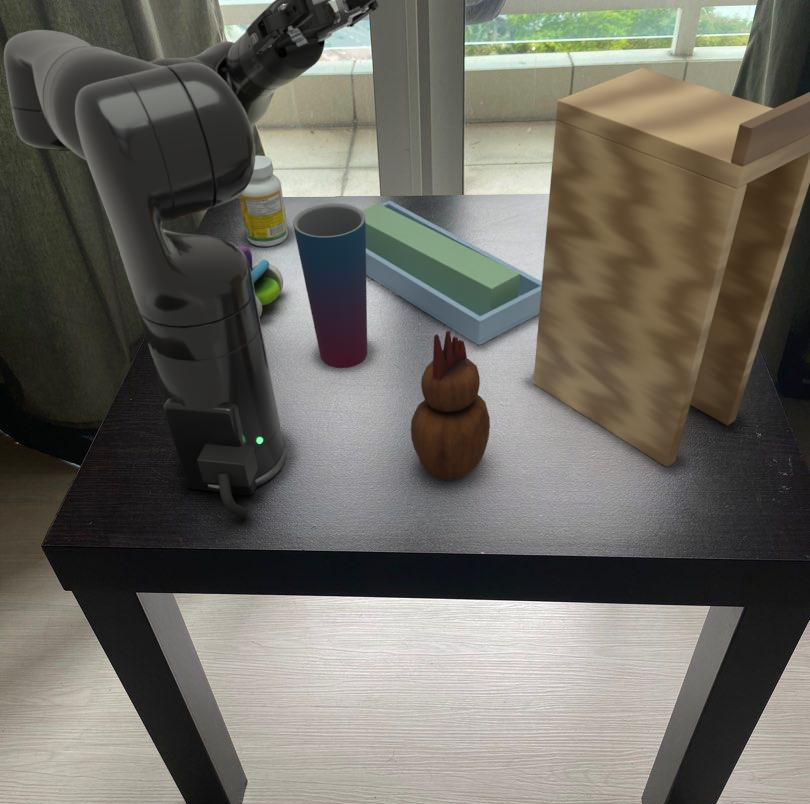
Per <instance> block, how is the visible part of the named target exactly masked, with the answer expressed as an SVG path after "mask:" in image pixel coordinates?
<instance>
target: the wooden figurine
mask: <svg viewBox="0 0 810 804" xmlns="http://www.w3.org/2000/svg"><path fill="white" fill-rule="evenodd" d="M432 353H433V358H432V361H430V363H429V364H427V365H426V367H425V369H424V371H423V374H422V376H421V383H420V388H421V393H422V396H423V398H424V400H423V401H421V402H420V403H419V404H418V405H417V406H416V409H415V411H414V413H413V416H412V418H411V419H410V420H411V422H410V438H411V443H412V446H413V449H414V451H415V453H416V456H417V458H418V461H419V463H420V465H421V467H422V468H423V469H424V470H425V472H427V474H428V475H429V476H431V477H434V478H436V479H438V480H443V481H451V480H457V479H458V480H459V479H461V478H464V477H465V476H467V475H469V474H471V473H472V472H473V471H474V470H475V469H476V468H477V467H478V465H479V464H480V463H481V461H482V460H483V457H484V455H485V453H486V449H487V447H488V446H487V445H488V443H489V442H488V441H489V439H490V428H491V419H490V418H491V417H490V414H489V410H488V407H487V402H486V401H485V400H484V399H483V398H482V397H481V396H480V394H479V391H480V386H481V379H480V378H481V377H480V372H479V369H478V366H477V364H475V363H474V362H473V361H472V360H471V359H469V358H468V355H467V350H466V345H465V341H464V340H461V339H459V338H458V337H457V336H453V337H452V335H451V331H450V330H446V331H445V336H444V343H443V347H442V343H441V340H440V336H439V334H434V335H433V352H432Z"/></svg>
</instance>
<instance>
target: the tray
mask: <svg viewBox="0 0 810 804" xmlns="http://www.w3.org/2000/svg"><path fill="white" fill-rule="evenodd" d="M379 204H380V205H382V206H384V207H386V208H388V209H391V210H393V211H395V212H397V213H399V214H401V215H403V216H405V217H407V218H409V219H411V220H413V221H415V222H417V223H419V224H421V225H423V226H425V227H427V228H429V229H431V230H433V231H435V232H437V233H439V234H441V235H443V236H445V237H447V238H449V239H451V240H453V241H455V242H457V243H459V244H461V245H463V246H465V247H467V248H469V249H471V250H473V251H475V252H477V253H479V254H481V255H483V256H485V257H487V258H489V259H491V260H493V261H495V262H497V263H499V264H501V265H503V266H505V267H507V268H509V269H511V270H513V271H515V272H517V273H519V274H520V279H519V295H518V298H516V299H514V300H512V301H510V302H508V303H506V304H504V305H502V306H500V307H498V308H496V309H494V310H492V311H490V312H488V313H486V314H484V315H482V316H480V315H478V314H476V313H475V312H473V311H471V310H469V309H467V308H466V307H464V306H462V305H460V304H458V303H457V302H455V301H453V300H452V299H450V298H448V297H447V296H445V295H443V294H442V293H440V292H438V291H437V290H435V289H433V288H432V287H430V286H428V285H427V284H425V283H423V282H422V281H420V280H418V279H417V278H415V277H413V276H412V275H410V274H408V273H407V272H405V271H403V270H401V269H400V268H398V267H396V266H395V265H393V264H391V263H390V262H388V261H386V260H385V259H383V258H381V257H380V256H378V255H376V254H375V253H373V252H371V251H370V250H368V249H366V277H369V278H370V279H371V280H373V281H375V282H376V283H378V284H380V285H381V286H383V287H385V288H386V289H387V290H390V291H391V292H393V293H394V294H396V295H397V296H399V297H401V298H402V299H404V300H405V301H407V302H409V303H410V304H412V305H414V306H415V307H416V308H418V309H420V311H421V310H422V311H423V312H425V314H428V315H430V316H431V317H432V318H434V319H436V320H438V321H439V322H441V323H442V324H443V325H445V326H447V327H449V328H450V329H452V330H453V331H455V332H457V333H458V334H460V335H461V336H463V337H465V338H466V339H468V340H469V341H471V342H473V343H474V344H476V345H477V346H481V345H483V344H485V343H487V342H489V341H491V340H492V339H494V338H496V337H498V336H501V335H502V334H504V333H505V332H508V331H510V330H511V329H514V328H515V327H518V326H520V325H521V324H524V323H525V322H526V321H529V320H530V319H533V318H534V317H536V316H539V310H540V298H541V287H542V280H540V279H538V278H536V277H534V276H532V275H531V274H528V273H527V272H524V271H523V270H521V269H519V268H517V267H516V266H513V265H511V264H510V263H508V262H506V261H504V260H502V259H500V258H499V257H497V256H495V255H493V254H491V253H490V252H488V251H485V250H483V249H482V248H480V247H478V246H476V245H474V244H473V243H471V242H469V241H467V240H465V239H463V238H461V237H459V236H457V235H456V234H453V233H451V232H449V231H448V230H446V229H444V228H442V227H440V226H438V225H437V224H435V223H433V222H431V221H429V220H427V219H425V218H423V217H421V216H419V215H418V214H416V213H414V212H412V211H410V210H408V209H407V208H405V207H402V206H401V205H399V204H397V203H396V202H393V201H391V200H387V201H384V202H381V203H379Z"/></svg>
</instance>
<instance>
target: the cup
mask: <svg viewBox="0 0 810 804" xmlns="http://www.w3.org/2000/svg"><path fill="white" fill-rule="evenodd" d="M361 210H362V209H360V208H358V207H356V206H354V205H350V204H347V203H340V202H339V203H337V202H335V203H334V202H333V203H332V202H331V203H321V204H317V205H312V206H310V207H307V208H305V209H303V210H301V211H300V212H298V213H297V214H296V215H295V217H294V219H293V221H292V227H293V230H294V235H295V240H296V246H297V250H298V255H299V260H300V264H301V270H302V274H303V279H304V284H305V289H306V293H307V298H308V303H309V308H310V313H311V318H312V321H313V328H314V331H315V337H316V341H317V346H318V351H319V357H320V359H321V361H322V362H323V363H324V364H325V365H327V366H328V367H333V368H337V369H345V368H352V367H355V366H357V365H359V364H361V363H362V362H364V361H365V359H366V358H367V357H368V311H367V310H368V305H367V304H368V303H367V302H368V301H367V300H368V299H367V298H368V297H367V275H366V228H365V215H364V213H363V212H362V211H361Z"/></svg>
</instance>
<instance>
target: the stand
mask: <svg viewBox="0 0 810 804" xmlns="http://www.w3.org/2000/svg"><path fill="white" fill-rule="evenodd" d="M553 137H554V139H553V150H552V151H553V152H552V161H551V171H550V172H551V173H550V184H549V194H548V207H547V219H546V229H545V230H546V231H545V240H544V241H545V242H544V245H545V246H544V253H543V265H542V276H541V281H542V287H541V298H540V310H539V314H538V322H537V335H536V344H535V345H536V346H535V356H534V357H535V358H534V369H533V370H534V371H533V381H532V383H533V385H535V386H536V387H538V388H540V389H542V390H543V391H545V392H547V393H548V394H549V395H551V396H552V397H554V398H555V399H557V400H559V401H560V402H561V403H564V404H565V405H567V406H568V407H570V408H572V409H573V410H575V411H576V412H578V413H580V414H581V415H583V416H584V417H585V418H587V419H590V420H591V421H592V422H594V423H596V424H597V425H598V426H600V427H601V428H603V429H605V430H607V431H608V432H610V433H612V434H613V435H615V436H616V437H617V438H619V439H621V440H622V441H624V442H626V443H627V444H629V445H631V446H632V447H634V448H636V449H637V450H639V451H640V452H642V453H643V454H645V455H646V456H648V457H650V458H651V459H653V460H655V461H656V462H657V463H659V464H661V465H662V466H664V467H666V468H668V467H670V466H672V465H673V464H675V462H676V460H677V456H678V452H679V450H680V445H681V441H682V438H683V433H684V431H685V425H686V423H687V419H688V414H689V411H690V406H691V407H693V408H695V409H697V410H699V411H701V412H702V413H704V414H705V415H708V416H709V417H711V418H713V419H715V420H716V421H718V422H720V423H721V424H723V425H725V426H730V425H731V424H732V423H734V422H735V421H736V419H737V416H738V414H739V413H738V412H739V409H740V406H741V403H742V401H743V397H744V394H745V391H746V387H747V384H748V380H749V377H750V374H751V371H752V368H753V365H754V362H755V358H756V355H757V353H758V352H757V351H758V349H759V345H760V343H761V339H762V336H763V333H764V330H765V327H766V324H767V320H768V316H769V314H770V311H771V307H772V304H773V301H774V298H775V295H776V291H777V288H778V285H779V281H780V278H781V276H782V272H783V269H784V266H785V263H786V260H787V257H788V253H789V249H790V246H791V243H792V240H793V237H794V234H795V230H796V229H797V228H796V227H797V224H798V221H799V218H800V214H801V212H802V208H803V205H804V201H805V199H806V195H807V192H808V189H809V186H810V91H809V92H807V93H805V94H802V95H801V96H798V97H796V98H793V99H792V100H790V101H789V100H788V101H787V102H784V103H783V104H781V105H778V106H777V107H774V108H773V107H769V106H766V105H764V104H760V103H757V102H754V101H750V100H747V99H744V98H741V97H737V96H734V95H731V94H728V93H725V92H721V91H718V90H715V89H712V88H708V87H706V86H702V85H699V84H696V83H693V82H689V81H686V80H683V79H679V78H676V77H673V76H670V75H667V74H664V73H660V72H657V71H654V70H651V69H647V68H644V67H640V68H638V69H635V70H633V71H631V72H628V73H625V74H622V75H620V76H617V77H614V78H612V79H610V80H607V81H603V82H601V83H598V84H596V85H593V86H591V87H588V88H586V89H582V90H581V91H578V92H575V93H573V94H570V95H568V96H565V97H562V98H560V99H558V100H557V104H556V117H555V127H554V136H553Z"/></svg>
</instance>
